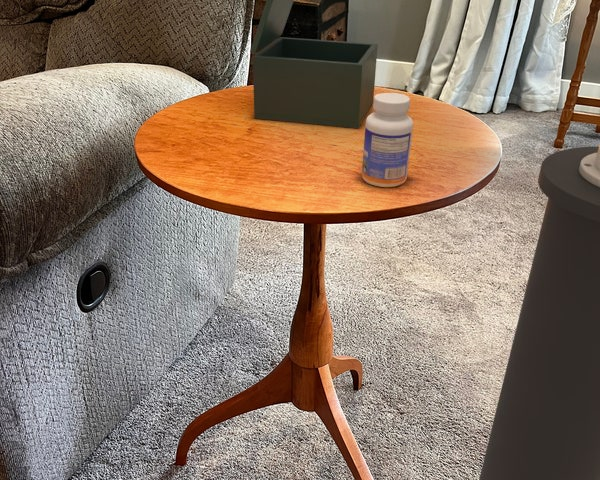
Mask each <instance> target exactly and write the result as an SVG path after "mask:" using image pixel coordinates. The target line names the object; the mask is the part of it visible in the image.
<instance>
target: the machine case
mask: <svg viewBox="0 0 600 480" xmlns="http://www.w3.org/2000/svg"><path fill="white" fill-rule="evenodd" d="M378 46H379V45H378V43H370V42H356V41H340V40H327V39H326V40H325V39H312V38H299V37H298V38H297V37H285V36H279V37H278V38H276V39H275V40H274V41H272V42H271V43H270V44H268V45H267V46H265V47H264V48H263V49H261V50H260V51H258V52H257V53H256V54H254V55H253V56H252V82H253V83H252V85H253V86H252V87H253V118H254V119H256V120H264V121H265V120H266V121H277V122H287V123H298V124H307V125H319V126H327V127H339V128H348V129H359V128H360V126H361V124H362V123H363V121H364V119H365V118H366V115H367V114H368V112H369V110H370V108H371V106H373V103H374V97H375V84H376V73H377V71H376V70H377V58H378Z"/></svg>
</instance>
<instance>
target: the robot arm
mask: <svg viewBox="0 0 600 480" xmlns="http://www.w3.org/2000/svg"><path fill="white" fill-rule="evenodd" d="M598 147H599V148H598V152H597V153H593V154H590V155H588V156H586V157H584V158H583V159H582V160H581V163H580V167H579V172H580V174H581V175H582V177H583V178H584V179H585V180H587V181H588V182H590V183H591V184H593V185H595V186H597V187H599V188H600V144H599V145H598Z"/></svg>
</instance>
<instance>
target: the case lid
mask: <svg viewBox="0 0 600 480" xmlns="http://www.w3.org/2000/svg"><path fill="white" fill-rule="evenodd" d="M294 1H295V0H266V2H265V5H264V8H263V11H262V14H261V17H260V20H259V24H258V26H257V28H256V32H255V36H254V39H253V41H252V45H251V48H250V50H249V51H250V53H252V54H254V55H256V54H257V53H258V52H260V51H261V50H263V49H264V48H265V47H267V46H268V45H269V44H271V43H272V42H274V41H275V40H276V39H278V38H279V37H282V35H283V32H284V29H285V26H286V24H287V20H288V19H289V15H290V12H291V10H292V7H293V4H294Z"/></svg>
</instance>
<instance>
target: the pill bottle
mask: <svg viewBox="0 0 600 480" xmlns="http://www.w3.org/2000/svg"><path fill="white" fill-rule="evenodd" d="M410 105H411V98H410V96H408V95H407V94H403V93H399V92H380V93H377V94H374V99H373V103H372V109H373V111H374V112H372V113H369V115H367V118H366V119H365V126H364V129H365V130H364V138H363V139H364V140H363V151H362V152H363V153H362V164H361V178H362V179H363V181H364V182H365V183H367V184H369V185H372V186H375V187H380V188H393V187H397V186H401V185H403V184H404V183H405V182H406V181H407V177H408V171H409V164H410V163H409V162H410V154H411V146H412V138H413V131H414V120H413V119H412V117H411V116H410V115H409V114H407V113H409V111H410V107H411V106H410Z"/></svg>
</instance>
